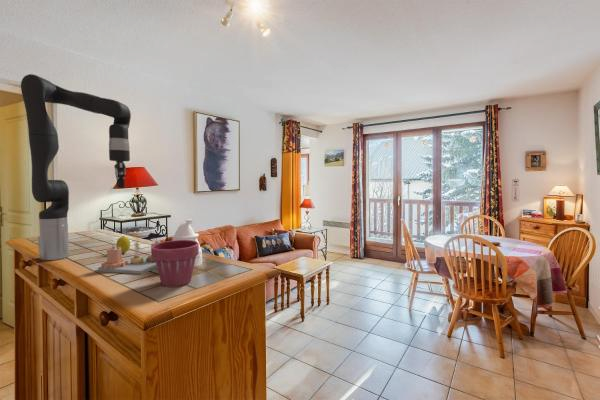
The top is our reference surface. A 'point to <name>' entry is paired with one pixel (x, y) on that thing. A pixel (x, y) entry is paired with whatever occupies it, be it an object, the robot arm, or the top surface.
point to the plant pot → (175, 261)
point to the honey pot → (188, 238)
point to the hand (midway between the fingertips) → (120, 187)
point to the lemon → (123, 244)
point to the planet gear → (114, 259)
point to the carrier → (134, 264)
